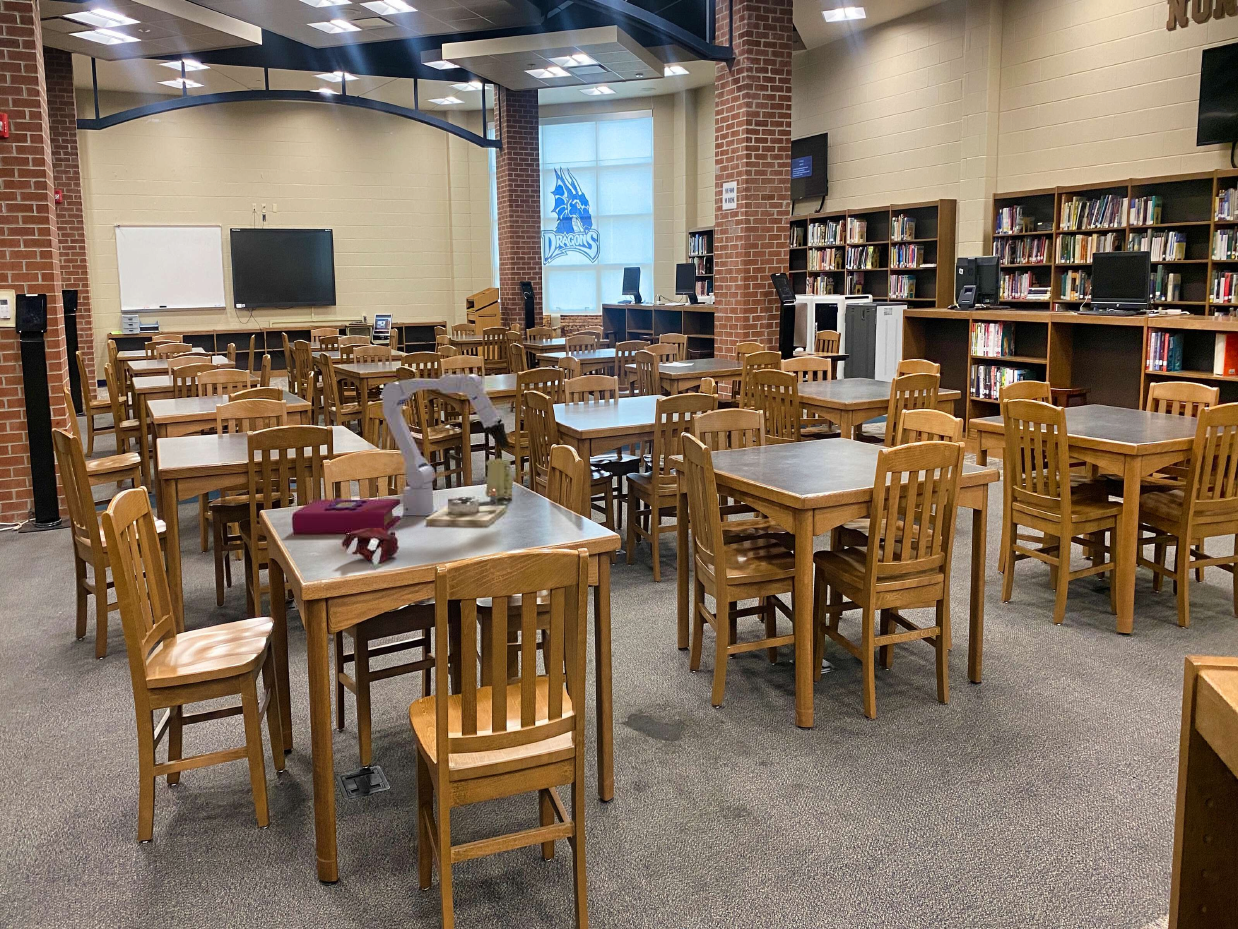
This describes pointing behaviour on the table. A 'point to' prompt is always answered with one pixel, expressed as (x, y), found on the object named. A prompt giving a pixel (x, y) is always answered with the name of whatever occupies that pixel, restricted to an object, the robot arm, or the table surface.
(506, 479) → the mechanical component
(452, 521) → the base plate
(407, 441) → the robot arm
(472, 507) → the grey boxy piece
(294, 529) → the book
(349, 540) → the dark red lumpy piece
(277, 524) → the table surface
